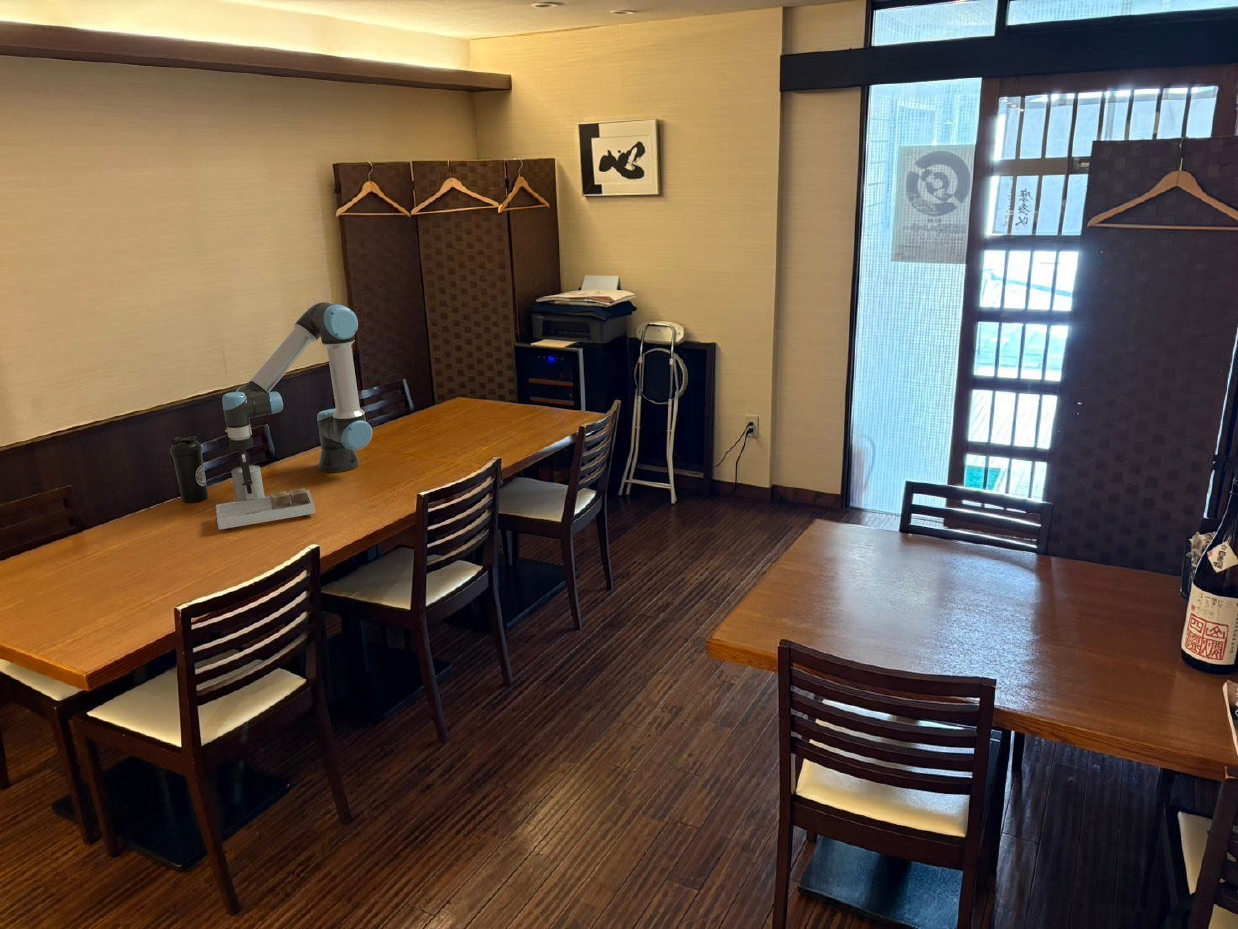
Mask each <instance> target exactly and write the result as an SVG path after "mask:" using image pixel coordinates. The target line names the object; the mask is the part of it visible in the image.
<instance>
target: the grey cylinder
mask: <svg viewBox="0 0 1238 929" xmlns="http://www.w3.org/2000/svg"><path fill="white" fill-rule="evenodd" d="M249 468H250V474H251V480H252V484H253V490H254V496H255V498H261V497H266V495H265V490H264V484H263V478H262V473H261V466H259V465H256V464H250V466H249ZM230 473H231V478H232V483H233V489H234V495H235V500H236V501H242V500H247V499H246V493H245V488H244V485H243V486H242V483H244V479H243V473H242V467H240V466H237V467H234V468H232V469H231V471H230ZM248 481H250V480H248ZM236 501H235V502H236Z"/></svg>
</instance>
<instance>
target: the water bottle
mask: <svg viewBox="0 0 1238 929" xmlns="http://www.w3.org/2000/svg"><path fill="white" fill-rule="evenodd" d="M196 439H198V438H197V436H195V435H194V436H189V437H183V438H181V436H177V437H175V438H173V439H172V440H171V446H170V448H169V452H170V453H169V454H170V456H171V457H172V461H173V466H174V470H175V474H176V480H177V483H178V489H179V492H180V496H181V500H182V503H183V504H189V505H190V504H197V503H201V502H202V503H203V502H205V501H207V500H208V499H209V493H208V485H207V481H206V479H207V478H206V473H205V466H204V460H203V453H202V451H203V446H202V444H201V443H200V442H199V441H198V440H196Z"/></svg>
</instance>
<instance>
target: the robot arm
mask: <svg viewBox="0 0 1238 929" xmlns="http://www.w3.org/2000/svg"><path fill="white" fill-rule="evenodd" d="M293 327H294V329H292V331H291V332H290V333H289V335H288V336H287V337H286V338H285V339H284V341H283V342H282V343H281V344H280V346H278V347H277V349H276V350H275V351H274V352H273V353H272V354H271V356H270V357H269V358H268V359H267V361H266V362H264V364H263V365H262V366H261V368H260V369H259V370H257V372H256V373H255V375H253V377H252V378H251V379H250V380H249V381H248V382H247V384H246V385H243V386H240V387H238V388H237V389H236V390H235V391H232V392H227V393H225V394H223V396H222V398H221V399H222V410H223V414H224V421H225V423H226V429H225V430H224V432H226V433H227V435H228V436H227V437H228V443H229V448H230V450H231V451H238V452H237V453H236V456H237V461H238V464H239V467H242V473H243V479H244V483H242V486H243V485H244V488H245V493H246V499H247V500H249V499H255V496H254V490H253V484H252V480H251V474H250V468H249V466H250V465H251V460H250V459H251V457H250V456H251V455H250V451H247V450H250V449H251V448H253V447H254V441H253V436H252V435H253V433H252V426H251V421H250V419H253V418H257V417H263V416H267V415H274V414H277V413H281V412H282V411H283V409H284V402H283V398H282V395H281V394H280V392H278V391H271V390H272V389H273V388H274V387H275V386H276V385H277V384H278V383H279V381H280V380H281V379H282V378H283V376H285V375H286V373H287V372H288V370H290V368H291V367H292V366H293V365H294V363H296V361H297V360H298V359H299V358H300V357H301V356H302V354H303V353H304V352H305V351H306V350H307V348H309V346H310V345H311V344H312V343H316V342H317V341H318V340H319V339H320V340H321V344H322V345H323V346H324V347H326V349H327V351H326V352H327V358H328V362H329V363H328V364H329V370H330V378H331V384H332V391H333V398H334V404H335V408H329V409H326V410H322V411H319V412H318V413H317V415H316V417H317V418H316V419H317V420H316V422H317V426H318V433H319V435H318V436H319V441H320V449H321V451H320V456H319V460H318V467H319V470H320V471H321V472H324V473H342V472H349V471H351V470H354V469H356V468H357V467H359V466H360V458H359V456H358V455H357V453H356V451H360V450H362V449H364V448H366V447H367V446H368V445H369V444H370V442H371V441H372V438H373V428H372V426H371V425H370V423H369V422H367V421H366V420H367V419H366V413H365V411H364V410H363V409H362V408H361V407H360V400H359V391H358V387H357V386H358V385H357V377H356V372H355V371H356V370H355V363H354V355H353V350H352V345H353V344H354V342H356V339H355V334H356V332H357V331H358V328H359V321H358V317H357V315H356V313H355V312H354V311H353V310H352V309H350V308H349V307H347V306H345V305H342V304H336V303H330V302H325V301H324V302H323V301H322V302H318V303H315V304H313V305H312V306H311V307H309V308H308V309H307V310H306V311H305V312H304V313H303V314H302V315H301V316H300V317H299V318H298V320H297V321H296V322H295V323H294V326H293ZM248 480H250V481H248Z"/></svg>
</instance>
